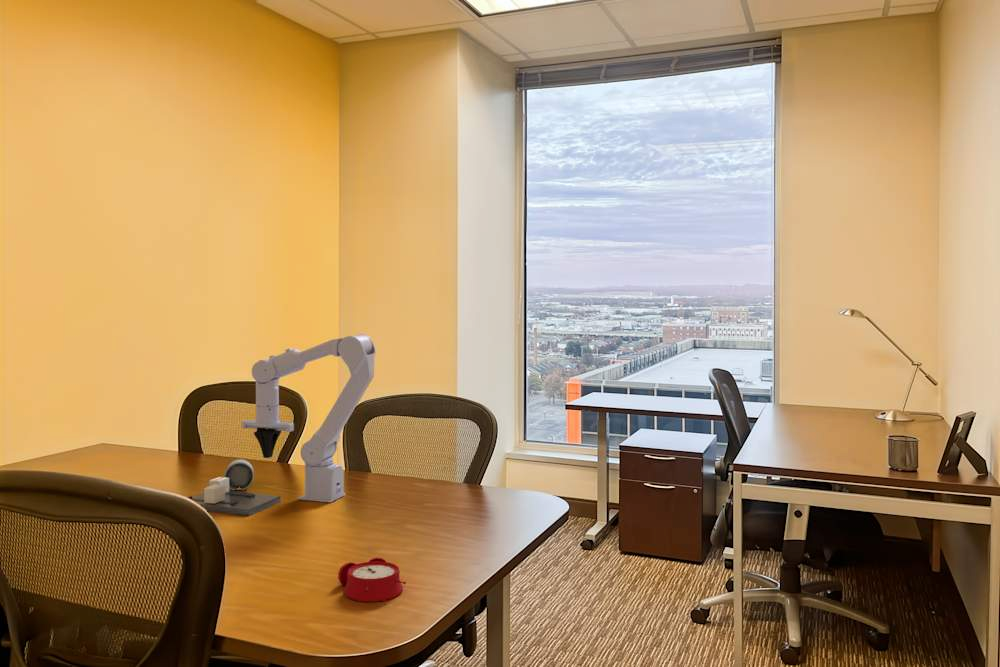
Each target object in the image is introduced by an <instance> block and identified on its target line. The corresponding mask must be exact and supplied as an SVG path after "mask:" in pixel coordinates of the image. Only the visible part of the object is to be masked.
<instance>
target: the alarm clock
mask: <svg viewBox="0 0 1000 667" xmlns="http://www.w3.org/2000/svg"><path fill="white" fill-rule="evenodd" d="M337 574H338V575H337V579H338V582H339V584H340V585H342V586H344V585H345V587H344V589H343V594H344V596H345V597H346V598H349V599H350V600H353V601H357V602H366V603H369V602H370V603H372V602H381V601H382V603H386V602H389V600H391V599H394V598H396V597H397V596H399V595H401V594H402V593H403V590H404V587H403V585H407V584H406V583H407V582H406V581H401V579H400V569H399V566H398V565H396V564H394V563H393V562H392V563H391V562H388V561H386V559H384V558H382V557H372V558H371V559H369V561H364V562H362V563H361V562H360V563H355V562H349V561H348V562H346V563H344V564H343V565H341V567H340V568H339V571H338V573H337ZM345 583H346V584H345ZM343 584H344V585H343Z"/></svg>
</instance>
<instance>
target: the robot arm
mask: <svg viewBox="0 0 1000 667" xmlns="http://www.w3.org/2000/svg"><path fill="white" fill-rule="evenodd" d="M284 351H285V352H283V353H279V354H277V355H275V354H272V355H269V356H268V357H269V359H260V360H258V361H257V362H255V363H254V364H253V365H252V367H251V376H252V378H253V379H254V380H255V420H253V419H252V420H251V419H250V420H249V419H245V420H241V429H252V430H255V429H256V430H255V431H254V432H253V434H254V436H255V438H256V439H257V441H258V443H259V447H260V449H261V452H262V456H263V459H269V458H270V459H271V458H272V457H273V455H274V450H275V447H276V444H277V440H278V439H279V437H280V435H281V434H282V432H287V433H291V432H294V431H295V423H293V422H288V421H287V422H286V421H280V398H279V397H280V395H279V394H280V393H279V391H280V387H279V382H280V381H279V380H280V378H283V377H286V376H289V375H292V374H294V373H297V372H300V371H303V370H304V368H305V367H306V365H307V363H310V362H312V361H316V360H318V359H322V358H326V357H328V356H331V355H332V356H334V357H336V358H337V357H340V358H341V359H342V360H343V362H344V364H346V366H347V367H348V370H349V373H350V377H349V379H348V381H347V382H346V384H345V386H344V387H343V389H342V391H341V392H340V394H339V395H338V398H337V399H336V400H335V402H334V404H333V406H332V407H331V409H330V411H329V412H328V414H327V416H326V418H325V419H324V421H323V423H322V424H321V426H320V427H319V428H318V429H317V430H316V431H315V432H314V434H313V435H312V436H311V437H310V439H309V440H308V441H306V442H304V443H303V444H302V446H301V448H300V457H301V459H302V461H303V462H304V494H302V495H301V496H298V498H297V499H298V500H300V501H301V500H303V501H311V502H313V501H314V502H322V503H333V502H334V501H336V500H338V499H340V498H343V497H344V496H346V493H345V487H344V486H345V482H344V480H345V478H344V477H345V475H344V473H345V472H344V469H343V467H342V465H339V464H336V463H334V458H333V456H334V455H335V454H336V453H337V450H338V443H339V441H340V439H341V432H342V431H343V429H344V427H345V426H346V424H347V422H348V421H349V419H350V417H351V416H352V414H353V412H354V411H355V408H357V406H358V404H359V402H360V400H361V398H362V397H363V396H364V395H365V393H366V390H367V389H368V387H369V386H370V384H371V382H372V380H373V379H374V377H375V376H374V375H375V355H376V353H377V350H376V347H375V344H374V342H373V340H372V338H371V337H370V336H368V335H367V334H364V333H363V334H362V333H360V334H356V335H348V336H344V337H340V338H339V337H338V338H334V339H330V340H328V341H324V342H322V343H319V344H318V345H314V346H313V347H310V348H307V349H305V350H299V349H297V348H294V349H293V348H292V347H290V348H289V347H288V348H286V349H285V350H284Z"/></svg>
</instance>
